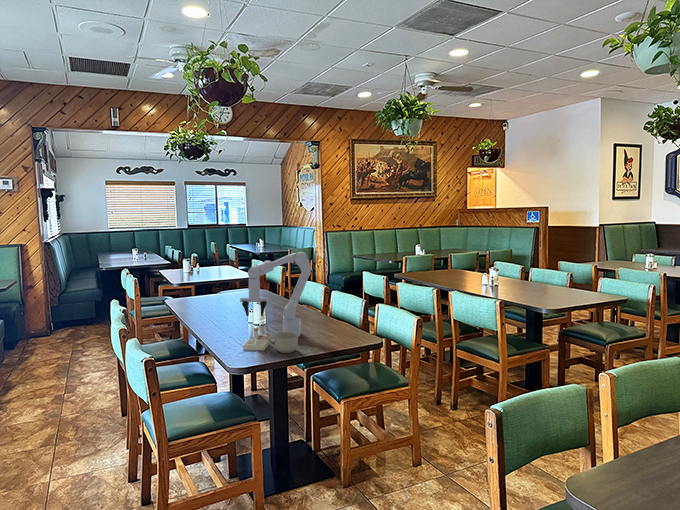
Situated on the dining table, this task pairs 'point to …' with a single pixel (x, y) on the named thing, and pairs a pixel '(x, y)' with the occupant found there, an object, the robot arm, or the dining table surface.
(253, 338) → the beige square frame
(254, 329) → the pin
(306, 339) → the dining table surface
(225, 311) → the dining table surface
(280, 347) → the teacup
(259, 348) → the tray
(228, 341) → the dining table surface
